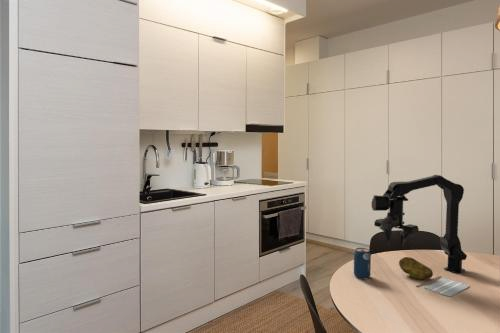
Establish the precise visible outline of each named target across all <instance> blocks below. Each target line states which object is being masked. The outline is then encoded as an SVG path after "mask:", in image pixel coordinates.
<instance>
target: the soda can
mask: <svg viewBox="0 0 500 333" xmlns="http://www.w3.org/2000/svg"><path fill="white" fill-rule="evenodd" d="M371 256H372V254H371V251H370V249H369V248H365V247H357V248H355V251H354V252H353V275H354V277H355V278H357V279H359V280H368V279H369V278H370V276H371V266H372V265H371Z"/></svg>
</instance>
